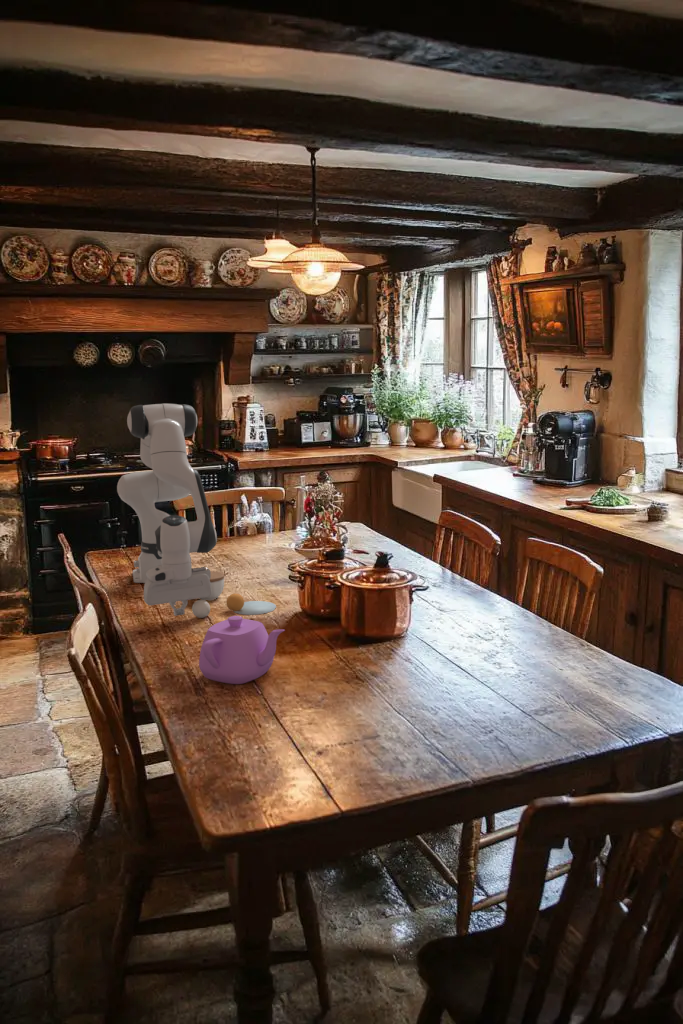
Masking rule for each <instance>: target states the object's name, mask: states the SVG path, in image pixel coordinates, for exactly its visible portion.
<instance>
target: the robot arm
mask: <svg viewBox="0 0 683 1024" xmlns="http://www.w3.org/2000/svg"><path fill="white" fill-rule="evenodd" d="M126 422H127V423H126V424H127V428H128V429H129V432H130V434H131V435H132V436H133V437H134V438H137V439H140V448H139V450H140V451H139V457H140V459H141V462H142V463H143V464H144V465H145V466H146V467H147V468H150V469H151V470H149V471H148V470H146V471H144V470H143V471H134V472H130V473H127V474H124V475H121V477H120V478H119V479H118V482H117V485H116V492H117V494H118V496H119V498H120V500H121V501H123V502H124V503H126V504H127V505H128V506H130V507H131V508H132V509H133V510H134V511H135V514H136V515H137V517H138V519H139V522H140V523H139V524H140V530H141V542H140V551H141V552H140V554H139V556H138V558H137V559H138V560H134V561H133V566H134V568H135V569H133V570H132V578H133V579H132V581H133V583H137V584H138V583H139V584H140V583H141V584H142V583H143V584H144V585H143V586H144V587H143V602H144V603H145V604H146V605H148V606H155V605H162V604H169V605H170V606H171V609H173V615H174V616H176V617H177V616H183V615H185V609H186V608H187V606H188V603H189V602H188V601H190V600H197V599H200V598H204V597H209V596H210V595H211V593H212V590H211V584H210V578H211V572H210V571H211V570H210V569H209V568H208V567H206V566H201V567H192V566H193V565H192V557H191V554H192V553H196V554H197V553H198V554H199V553H201V554H208V553H209V552H210V551H212V550H213V549H214V548H215V547H216V545H217V541H218V536H217V535H218V534H217V531H216V528H215V526H214V523H213V521H212V517H211V513H210V509H209V505H208V500H207V497H206V493H205V490H204V486H203V482H202V479H201V475H200V473H199V471H198V470H197V469H195V468H193V467H192V465H190V464H191V463H190V462H189V459H188V455H187V444H186V439H185V437H189V436H192V435H193V434H194V433H195V432H196V430H197V426H198V415H197V412H196V410H195V408H194V406H192V405H189V404H183V403H182V404H177V403H155V404H154V403H153V404H144V405H143V404H138V405H133V406H132V407H130V409H129V412H128V414H127V419H126ZM189 495H190V496H191V497H192V500H193V505H194V509H195V513H196V517H197V519H196V520H194V521H188V520H187V518H186V517H185V516H182V515H175V514H174V515H171V514H169V513H167V512H165V511H163V510H160V509H158V508H156V506H155V503H162V502H168V501H169V502H171V501H178V500H181V499H184V498H187V497H189ZM177 602H181V603H182V604H181V606H180V607H178V608H176V605H177Z"/></svg>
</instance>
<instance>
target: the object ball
mask: <svg viewBox="0 0 683 1024" xmlns="http://www.w3.org/2000/svg"><path fill="white" fill-rule="evenodd" d="M244 602H245V599H244V597H243V596H242V594H239V593H236V592H235V593H231V594H230V595H228V596H227V598H226V606H227V608H228V609H229V610H230V611H232V612H233V611H239V610H240V609H242V607H243V606H244Z"/></svg>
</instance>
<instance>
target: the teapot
mask: <svg viewBox="0 0 683 1024" xmlns="http://www.w3.org/2000/svg"><path fill="white" fill-rule="evenodd" d="M285 631H286V630H285V629H281V628H280V629H274V630H272V631H271V632H270V633H269V634H268V632H267V629H266V627H265V625H264V623H262V621H257V620H252V619H248V618H243V616H240V615H232V616H229V617H227V619H225V620H222V621H220V622H217V623H215V624H213V625H212V626H210V627H209V628H208V629H207V630H206V633H205V636H204V639H203V642H202V645H201V647H200V651H199V661H198V667H199V671H200V672H201V674H202V675H203V676H204V678H206V679H209V680H211V681H215V682H220V683H223V684H224V683H225V684H230V685H243V684H246V683H249V682H252V681H254V680H256V679H258V678H259V679H260V677H262V676H264V675H265V674H266V673H267V672H268V671H269V670H270V668H271V667H272V665H273V662H274V658H275V656H276V651H277V639H278V637H279V635H280V634H281V633H283V632H285Z"/></svg>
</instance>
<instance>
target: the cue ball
mask: <svg viewBox="0 0 683 1024" xmlns="http://www.w3.org/2000/svg"><path fill="white" fill-rule="evenodd" d="M191 612H192V614H193V615H194V616H195V617H196V618H199V619H203V618H206V617H207V616H209V614H210V612H211V605H210V603H209V602H208V601H206V600H200V599H198V600H196V601H195V602H193V604H192V607H191Z"/></svg>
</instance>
